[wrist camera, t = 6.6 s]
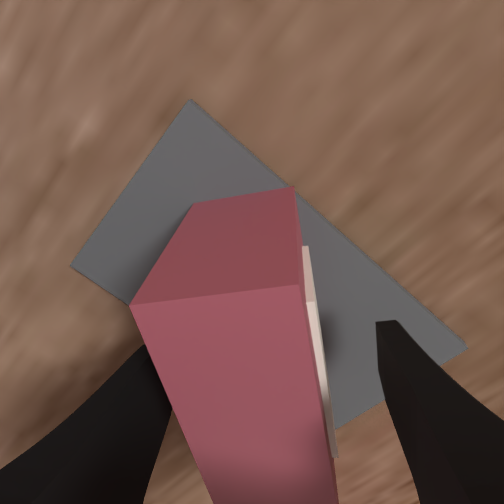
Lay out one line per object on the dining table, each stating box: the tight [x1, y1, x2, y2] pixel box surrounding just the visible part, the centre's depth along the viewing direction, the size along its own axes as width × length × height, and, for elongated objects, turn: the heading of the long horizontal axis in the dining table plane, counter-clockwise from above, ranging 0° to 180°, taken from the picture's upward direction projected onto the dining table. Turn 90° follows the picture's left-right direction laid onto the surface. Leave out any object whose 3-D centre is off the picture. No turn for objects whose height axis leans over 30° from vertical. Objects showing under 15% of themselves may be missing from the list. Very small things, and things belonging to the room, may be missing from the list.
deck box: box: [129, 186, 339, 504], centre depth 12 cm, size 4×9×6 cm, turn 11°
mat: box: [70, 99, 468, 430], centre depth 15 cm, size 14×8×1 cm, turn 49°
